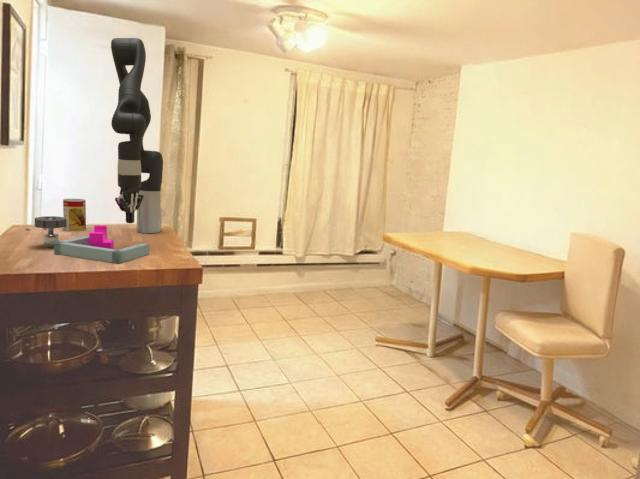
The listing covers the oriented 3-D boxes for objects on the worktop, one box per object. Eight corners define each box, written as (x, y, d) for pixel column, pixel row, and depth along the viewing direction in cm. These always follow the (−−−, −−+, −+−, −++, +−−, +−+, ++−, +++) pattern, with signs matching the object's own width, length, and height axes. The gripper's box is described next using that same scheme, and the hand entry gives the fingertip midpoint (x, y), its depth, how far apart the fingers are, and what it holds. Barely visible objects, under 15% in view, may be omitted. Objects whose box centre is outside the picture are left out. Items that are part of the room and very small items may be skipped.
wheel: (50, 222, 161) (50, 215, 161) (72, 225, 159) (72, 218, 158) (28, 226, 152) (27, 218, 152) (50, 229, 150) (50, 221, 150)
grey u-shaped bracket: (88, 245, 163) (88, 235, 162) (149, 254, 157) (149, 244, 156) (54, 253, 148) (53, 242, 148) (119, 263, 142) (119, 252, 142)
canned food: (90, 230, 189) (89, 200, 186) (70, 232, 182) (70, 201, 180) (78, 227, 193) (78, 198, 191) (59, 228, 186) (59, 198, 184)
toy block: (110, 256, 151) (110, 233, 150) (89, 256, 149) (89, 233, 147) (114, 246, 165) (114, 225, 163) (95, 246, 163) (94, 225, 161)
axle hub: (51, 244, 160) (50, 217, 158) (61, 246, 158) (61, 218, 157) (40, 246, 155) (39, 218, 154) (51, 248, 154) (50, 220, 153)
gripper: (132, 171, 167) (132, 219, 170) (106, 173, 154) (107, 224, 158) (150, 173, 165) (150, 221, 169) (126, 175, 153) (127, 227, 156)
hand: (130, 222), depth 163 cm, fingers closed
